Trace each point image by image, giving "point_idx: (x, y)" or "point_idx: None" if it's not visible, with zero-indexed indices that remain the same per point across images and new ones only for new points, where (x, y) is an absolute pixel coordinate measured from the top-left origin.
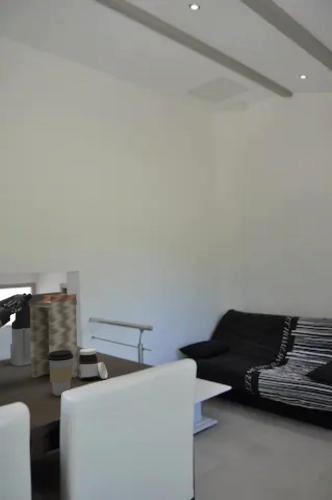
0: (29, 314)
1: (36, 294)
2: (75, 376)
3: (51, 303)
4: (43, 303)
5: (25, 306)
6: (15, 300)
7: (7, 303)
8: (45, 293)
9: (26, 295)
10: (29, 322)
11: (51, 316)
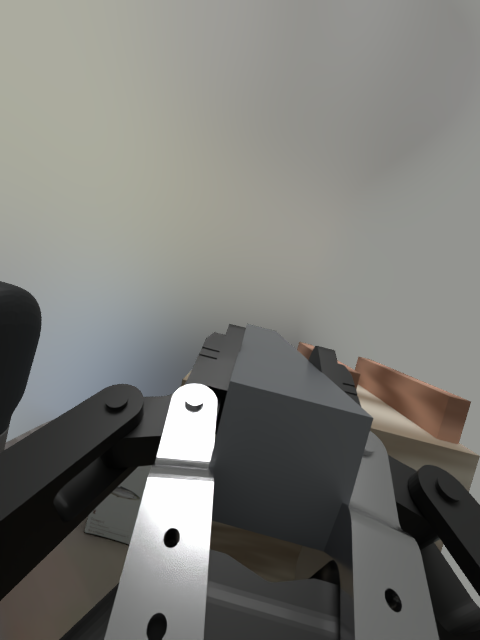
0: (17, 376)
1: (287, 347)
2: None
3: (471, 456)
4: (380, 438)
5: (449, 586)
6: (263, 474)
7: (8, 526)
8: (267, 334)
9: (329, 373)
10: (9, 410)
11: (436, 543)
